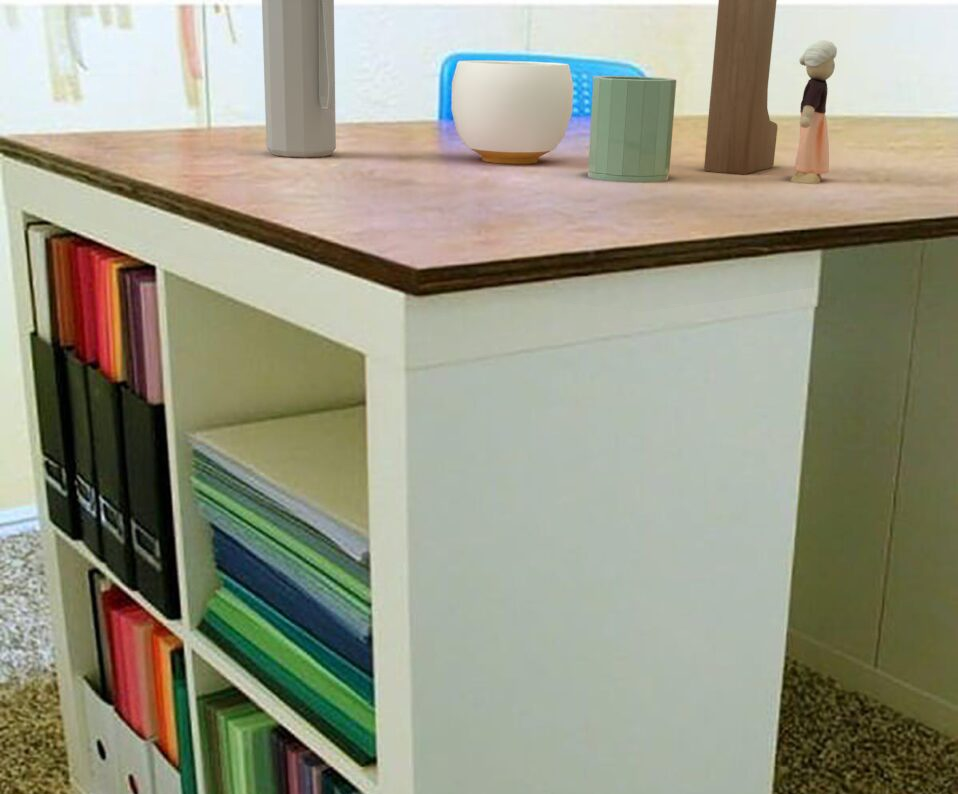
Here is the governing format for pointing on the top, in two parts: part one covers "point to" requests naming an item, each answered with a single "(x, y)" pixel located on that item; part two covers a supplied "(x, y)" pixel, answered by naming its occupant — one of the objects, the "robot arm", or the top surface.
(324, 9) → the water bottle
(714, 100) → the wooden block
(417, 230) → the top surface
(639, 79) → the green cup
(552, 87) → the cup
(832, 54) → the grandmother figurine
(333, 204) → the top surface
